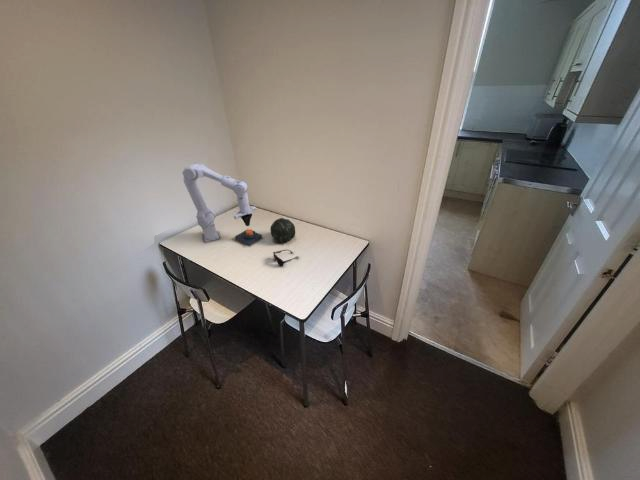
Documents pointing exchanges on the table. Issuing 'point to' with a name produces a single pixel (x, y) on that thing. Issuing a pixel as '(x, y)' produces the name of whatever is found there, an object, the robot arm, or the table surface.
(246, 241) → the dark blue button base
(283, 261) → the sunglasses
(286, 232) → the squash
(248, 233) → the orange button
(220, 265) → the table surface
